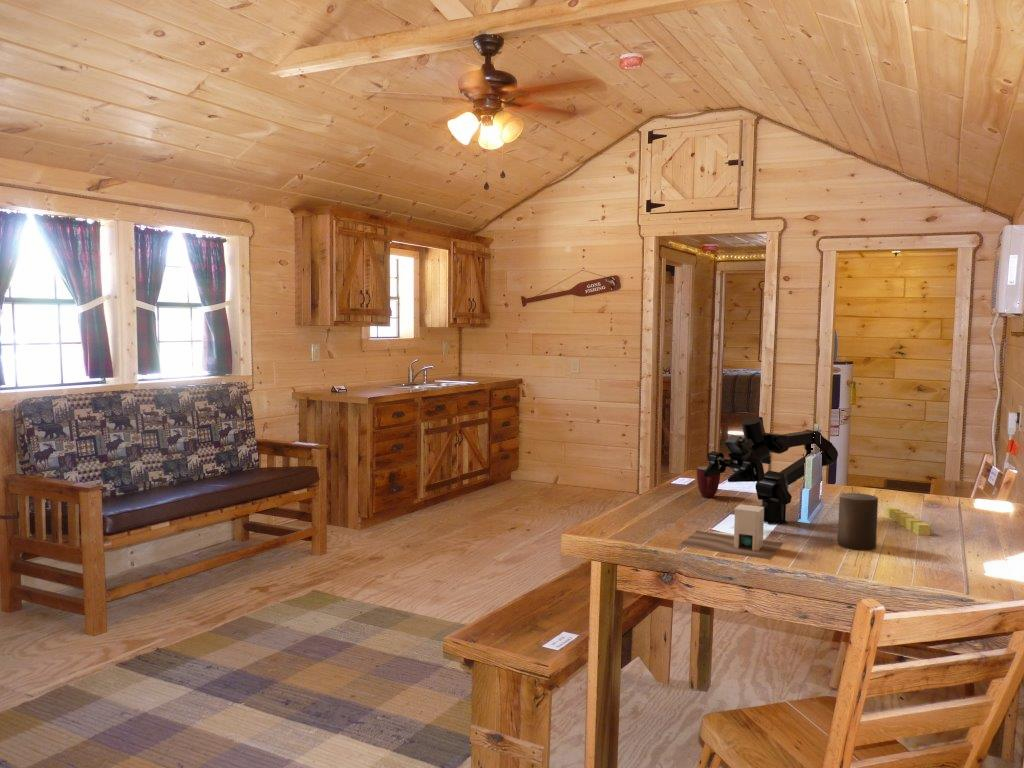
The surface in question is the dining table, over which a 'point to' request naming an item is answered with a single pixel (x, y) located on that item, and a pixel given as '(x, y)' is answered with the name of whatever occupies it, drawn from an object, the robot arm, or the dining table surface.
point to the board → (729, 545)
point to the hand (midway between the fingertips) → (715, 477)
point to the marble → (747, 540)
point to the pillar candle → (857, 521)
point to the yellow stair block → (908, 521)
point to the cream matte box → (749, 525)
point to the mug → (707, 483)
